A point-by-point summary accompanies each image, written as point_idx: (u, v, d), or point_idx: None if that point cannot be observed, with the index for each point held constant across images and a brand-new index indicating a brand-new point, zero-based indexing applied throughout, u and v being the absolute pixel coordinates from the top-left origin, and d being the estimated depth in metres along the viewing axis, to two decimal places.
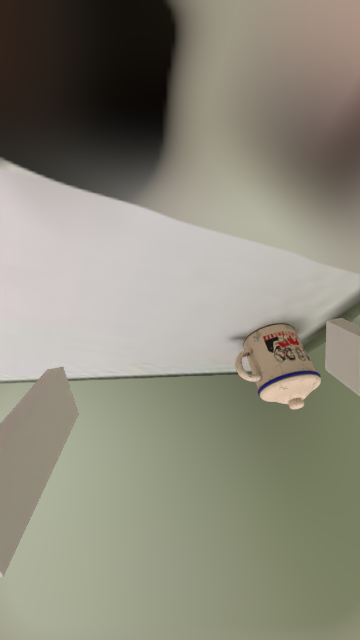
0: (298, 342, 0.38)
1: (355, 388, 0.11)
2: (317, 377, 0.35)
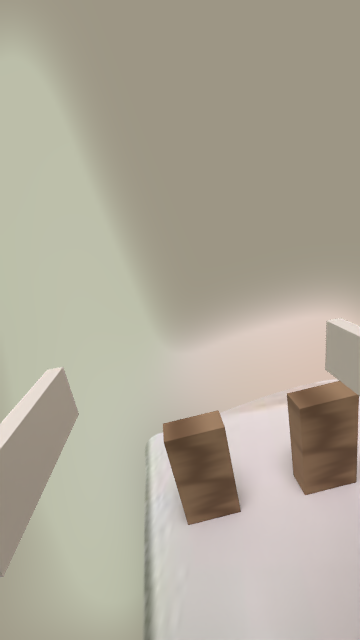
0: None
1: (355, 389, 0.11)
2: None
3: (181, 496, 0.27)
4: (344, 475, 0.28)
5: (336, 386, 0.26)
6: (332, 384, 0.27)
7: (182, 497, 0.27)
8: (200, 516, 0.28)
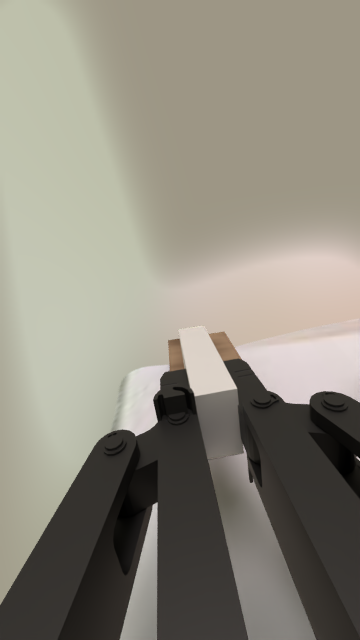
0: None
1: None
2: None
3: None
4: None
5: None
6: None
7: None
8: None
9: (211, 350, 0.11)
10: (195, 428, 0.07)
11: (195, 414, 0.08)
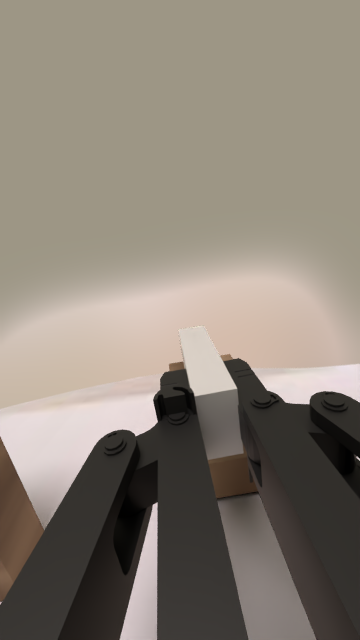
0: None
1: None
2: None
3: None
4: None
5: None
6: None
7: None
8: None
9: (211, 350, 0.11)
10: (195, 428, 0.07)
11: (195, 414, 0.08)
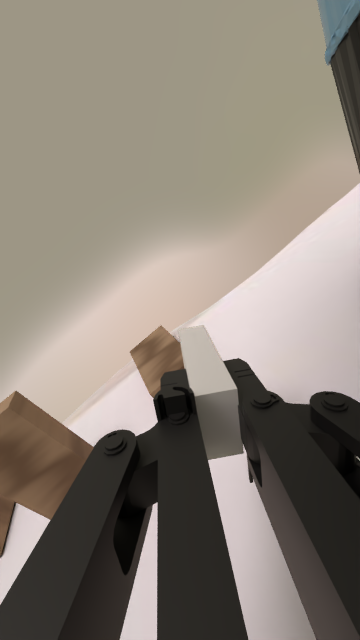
0: None
1: None
2: None
3: None
4: None
5: (3, 403, 0.21)
6: (3, 401, 0.21)
7: None
8: None
9: (211, 350, 0.11)
10: (195, 428, 0.07)
11: (195, 414, 0.08)
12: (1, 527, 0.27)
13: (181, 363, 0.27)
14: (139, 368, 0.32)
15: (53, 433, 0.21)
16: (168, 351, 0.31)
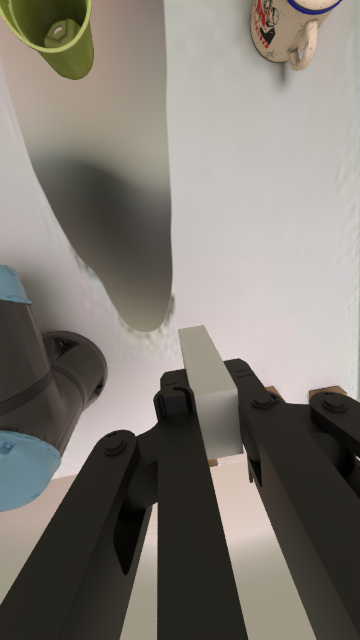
0: None
1: None
2: None
3: None
4: None
5: None
6: None
7: None
8: None
9: (211, 350, 0.11)
10: (195, 428, 0.07)
11: (195, 414, 0.08)
12: None
13: None
14: None
15: None
16: None
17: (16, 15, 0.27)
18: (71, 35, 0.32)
